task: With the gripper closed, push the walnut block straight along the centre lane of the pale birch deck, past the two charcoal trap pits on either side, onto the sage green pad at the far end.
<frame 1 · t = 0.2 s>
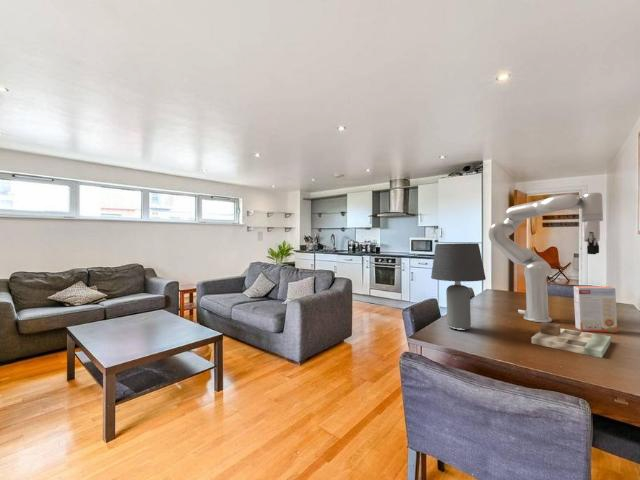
hand: (593, 253, 145), 36 cm above the table, tool pointing down, fingers open, 9 cm apart
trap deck: (570, 342, 127), on the table
cracker box: (595, 330, 142), on the table
walnut block: (550, 333, 132), point 2 cm above the table, touching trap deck
lamp: (459, 328, 151), on the table
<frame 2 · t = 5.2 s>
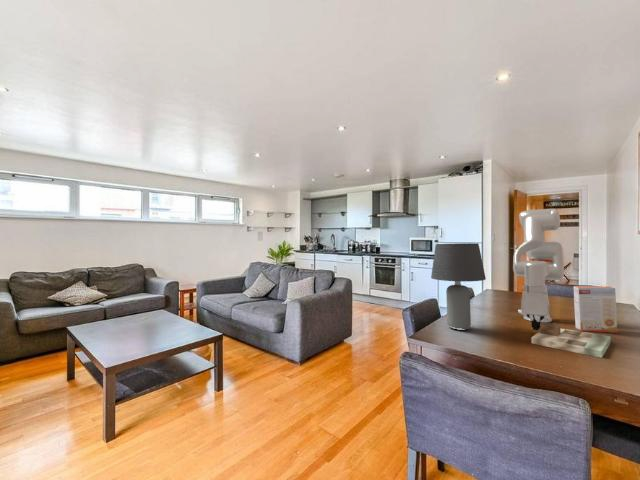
hand: (536, 329, 136), 3 cm above the table, tool pointing down, fingers closed
walnut block: (550, 333, 132), point 3 cm above the table, touching gripper, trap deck
everything else where it was.
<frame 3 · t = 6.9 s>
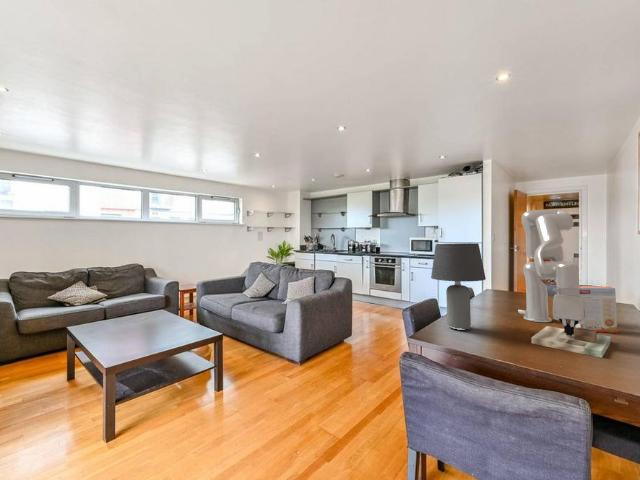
hand: (569, 335, 127), 3 cm above the table, tool pointing down, fingers closed
walnut block: (585, 340, 122), point 3 cm above the table, touching gripper
everything else where it was.
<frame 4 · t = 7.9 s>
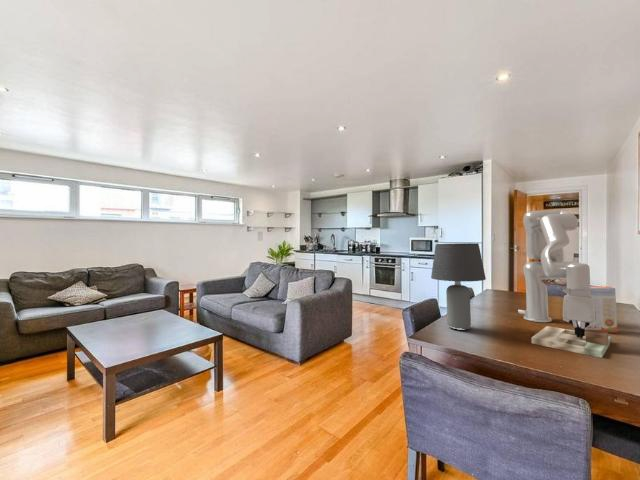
hand: (579, 336, 124), 3 cm above the table, tool pointing down, fingers closed
walnut block: (597, 342, 120), point 2 cm above the table, touching gripper, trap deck
everything else where it was.
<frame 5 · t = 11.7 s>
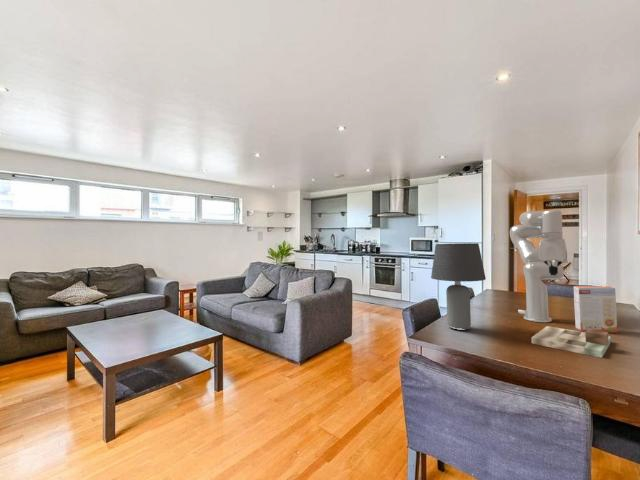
hand: (553, 275, 141), 27 cm above the table, tool pointing down, fingers closed
walnut block: (597, 342, 120), point 2 cm above the table, touching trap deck
everything else where it was.
at the end: walnut block inside the target area on the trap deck (1.0 cm from its centre), point 2.5 cm above the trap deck's base; walnut block tilted 0° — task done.
